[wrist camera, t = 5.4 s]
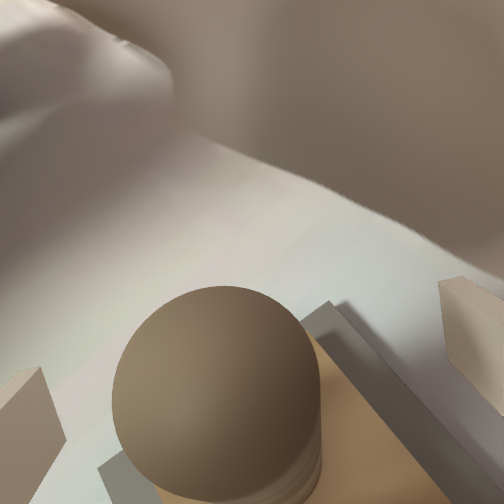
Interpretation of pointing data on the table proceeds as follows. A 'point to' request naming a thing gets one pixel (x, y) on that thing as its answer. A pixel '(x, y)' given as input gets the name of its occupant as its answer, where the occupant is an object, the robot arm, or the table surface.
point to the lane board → (384, 404)
